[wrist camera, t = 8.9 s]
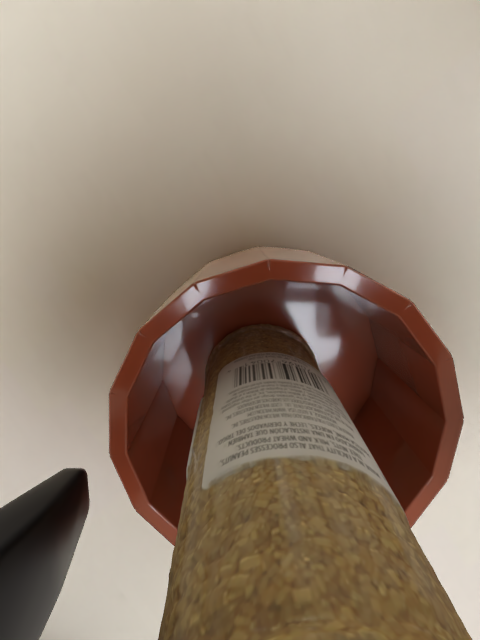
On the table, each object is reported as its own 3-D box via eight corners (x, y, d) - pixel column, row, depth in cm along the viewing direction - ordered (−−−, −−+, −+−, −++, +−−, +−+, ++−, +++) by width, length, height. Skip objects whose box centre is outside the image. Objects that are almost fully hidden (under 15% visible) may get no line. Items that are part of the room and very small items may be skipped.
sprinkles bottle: (189, 403, 15) (-115, 1528, 2) (231, 302, 14) (142, 1304, 1) (291, 440, 16) (563, 1551, 3) (339, 345, 14) (1229, 1414, 1)
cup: (253, 498, 17) (260, 625, 12) (106, 350, 15) (34, 419, 10) (426, 375, 15) (527, 456, 10) (287, 193, 14) (320, 174, 8)
